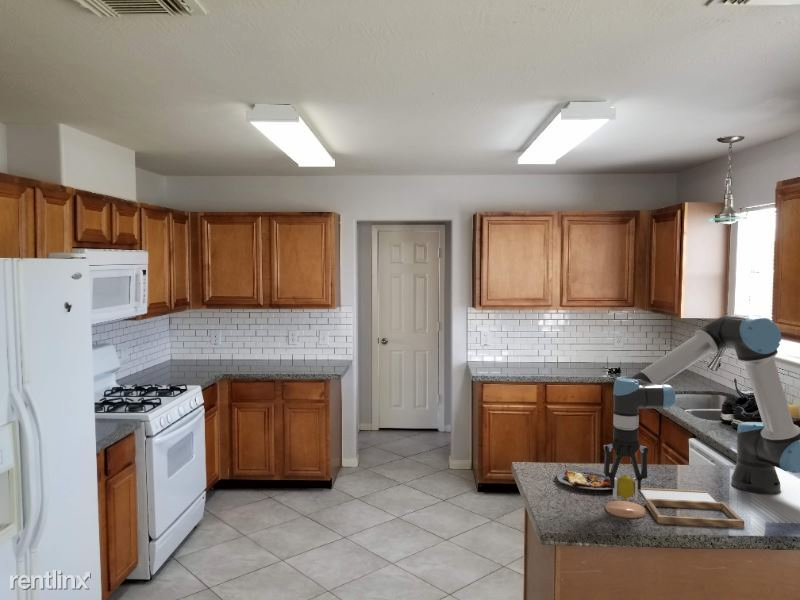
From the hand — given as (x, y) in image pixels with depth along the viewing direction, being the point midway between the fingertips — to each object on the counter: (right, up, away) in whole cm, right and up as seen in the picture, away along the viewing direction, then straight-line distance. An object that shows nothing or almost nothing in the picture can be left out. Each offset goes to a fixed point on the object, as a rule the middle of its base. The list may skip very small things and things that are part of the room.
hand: (625, 498), depth 189 cm
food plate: (-3, -4, +27) cm, 27 cm away
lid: (+22, -4, +10) cm, 25 cm away
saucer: (0, -4, 0) cm, 4 cm away
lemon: (0, -1, 0) cm, 1 cm away
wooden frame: (+20, -4, -4) cm, 21 cm away
